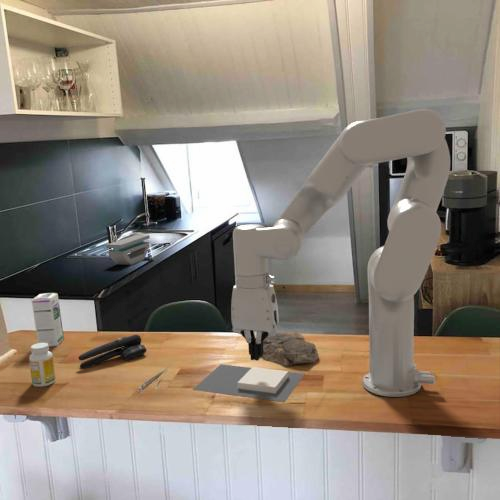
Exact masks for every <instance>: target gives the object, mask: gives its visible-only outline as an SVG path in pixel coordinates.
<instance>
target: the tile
mask: <svg viewBox="0 0 500 500" xmlns="http://www.w3.org/2000/svg"><path fill="white" fill-rule="evenodd" d="M250 368H251V369H250V370H249V371H248V372H247V373H246V374H245V375H244V376H243V377H242V378H241V379H240V380H239V382H238V389H240V390H248V391H256V392H263V393H271V394H276V393H277V392H278V390H279V389H280V388H281V386H282V385H283V384H284V383H285V381H286V380H287V379H288V378H289V376H288V372H289V370H280V369H274V368H272V369H271V368H264V367H263V368H262V367H257V366H256V367H255V366H252V367H250Z"/></svg>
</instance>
